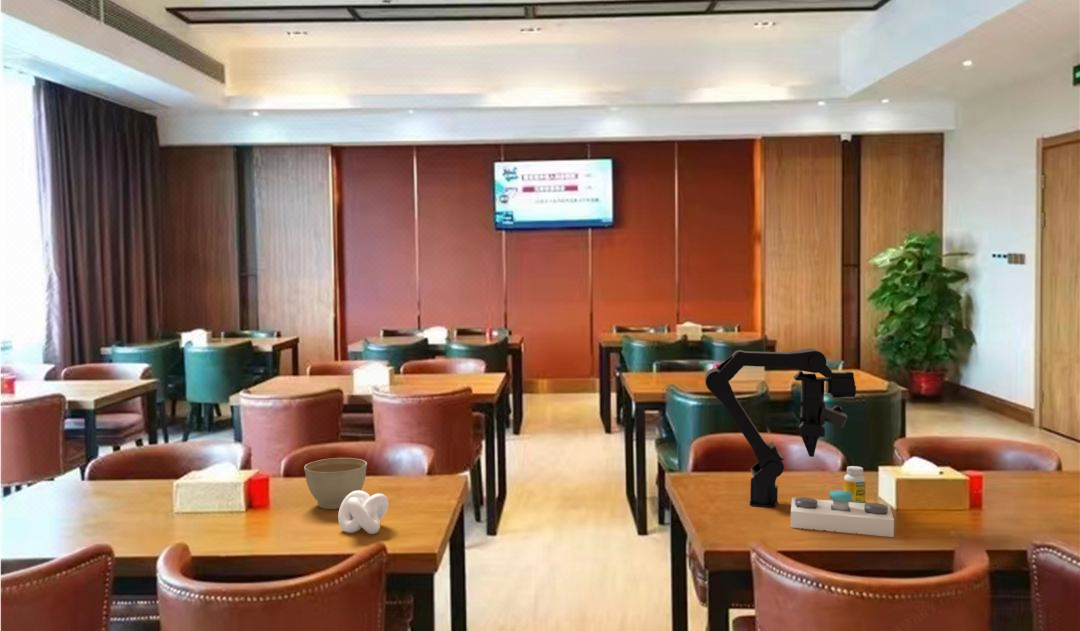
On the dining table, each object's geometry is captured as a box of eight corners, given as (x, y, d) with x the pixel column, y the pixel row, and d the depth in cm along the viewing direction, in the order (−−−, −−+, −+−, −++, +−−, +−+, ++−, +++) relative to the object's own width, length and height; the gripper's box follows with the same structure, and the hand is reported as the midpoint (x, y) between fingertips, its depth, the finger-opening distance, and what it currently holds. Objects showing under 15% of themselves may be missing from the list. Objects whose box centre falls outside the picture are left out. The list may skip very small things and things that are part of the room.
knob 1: (794, 521, 204) (795, 502, 204) (795, 515, 209) (795, 496, 209) (817, 523, 203) (817, 504, 202) (817, 516, 207) (817, 498, 207)
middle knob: (829, 514, 201) (829, 495, 201) (829, 508, 206) (829, 489, 206) (852, 516, 200) (852, 497, 199) (851, 510, 205) (851, 491, 204)
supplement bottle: (851, 499, 224) (852, 464, 223) (869, 504, 219) (870, 468, 219) (839, 502, 221) (839, 467, 220) (856, 507, 216) (857, 471, 216)
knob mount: (790, 527, 201) (790, 511, 201) (791, 512, 213) (792, 497, 212) (893, 536, 194) (893, 520, 194) (889, 521, 205) (889, 505, 205)
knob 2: (864, 527, 199) (865, 508, 199) (863, 520, 204) (863, 502, 204) (888, 529, 198) (888, 510, 197) (886, 522, 202) (886, 504, 202)
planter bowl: (379, 503, 223) (379, 463, 222) (327, 518, 211) (326, 475, 210) (345, 492, 233) (344, 454, 233) (293, 505, 222) (292, 465, 221)
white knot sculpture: (390, 537, 196) (389, 500, 195) (337, 541, 194) (336, 503, 193) (388, 522, 207) (387, 486, 206) (338, 525, 205) (337, 490, 204)
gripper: (846, 405, 205) (845, 467, 206) (844, 393, 223) (843, 450, 224) (799, 403, 209) (798, 464, 210) (800, 391, 226) (799, 447, 228)
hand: (811, 456), depth 218 cm, fingers closed
